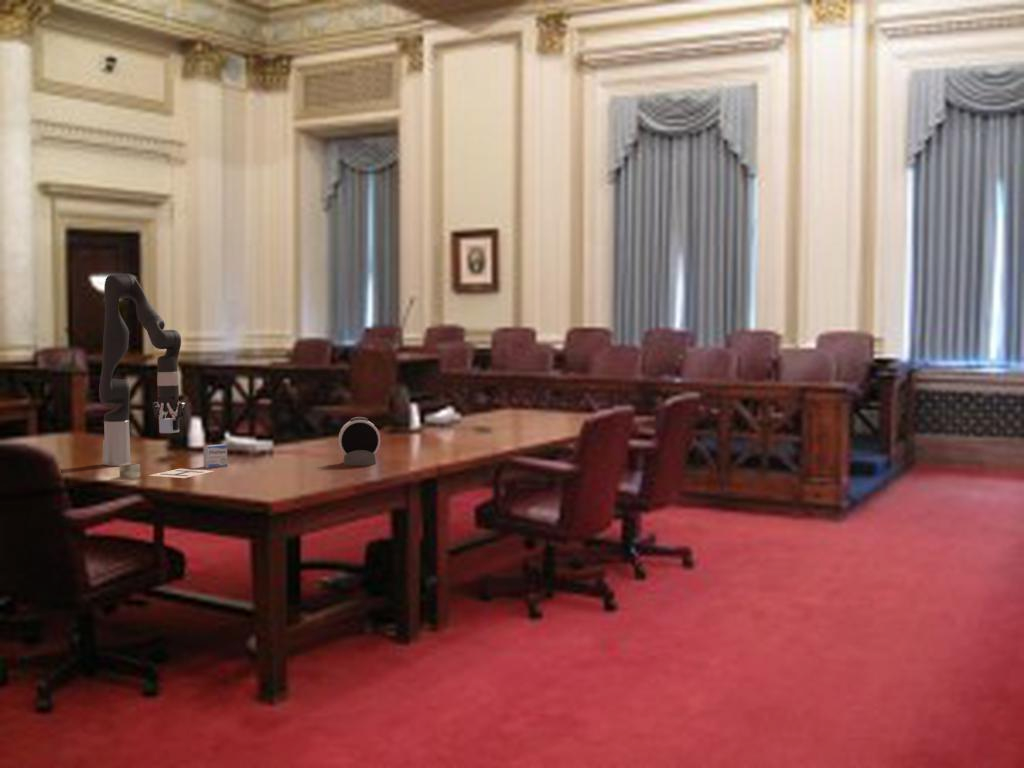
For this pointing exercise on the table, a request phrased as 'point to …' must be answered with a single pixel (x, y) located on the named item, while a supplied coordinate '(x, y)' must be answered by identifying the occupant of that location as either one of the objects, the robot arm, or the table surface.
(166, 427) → the blue cube
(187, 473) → the letter sheet
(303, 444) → the table surface
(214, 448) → the medicine box
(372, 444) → the alarm clock
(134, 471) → the block
